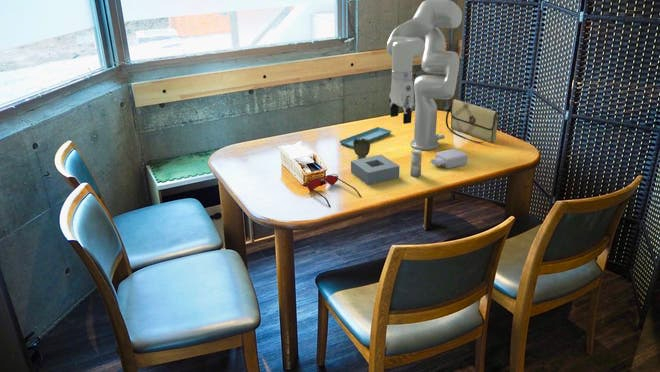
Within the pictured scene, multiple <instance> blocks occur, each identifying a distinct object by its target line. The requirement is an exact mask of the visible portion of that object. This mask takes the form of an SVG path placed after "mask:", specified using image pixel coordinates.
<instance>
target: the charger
mask: <svg viewBox="0 0 660 372" xmlns="http://www.w3.org/2000/svg"><path fill="white" fill-rule="evenodd" d="M429 164H432V165H434V166H436V167H438V166H441V167H443V168H446V169H452V168H453V169H454V168H456V167H461V166H465V165H468V154H467V153H466V152H463V151H461V150H459V149H457V148H450V149H446V150H443V151H437V152H436V153H435V158H432V159H430V161H429Z"/></svg>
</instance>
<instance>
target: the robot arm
mask: <svg viewBox="0 0 660 372" xmlns="http://www.w3.org/2000/svg"><path fill="white" fill-rule="evenodd" d="M462 19H463V12H462V9H461V8H460V6H459V5H458V4H456V2H454V1H452V0H424V1H422V2H421V3H420V5H419V6H418V8H417V10H416V12H415V13H414V16H413V17H412V19H409V20H407V21H405V22H403V23H402V24H400V25H398V26H397V27H395V28H394V29H393V30H392V32H391V34H390V36H389V37H388V40H387V43H386V52H387V54H388V55H389V56H391V84H390V92H389V93H388V96H389V97H388V98H389V99H388V101H389V106H390V112H389V113H390V115H389V116H390V117H391V118H394V117H398V116H399V107H400V108H402V109H403V113H402V115H403V117H402V119H403V121H402V124H404V125H405V124H406V125H407V124H411V123H412V113H413V111H414V131H413V132H414V133H413V134H414V135H413V139H412V140H411V141H410V144H409V145H410V147H411V148H414V149H415V150H421V151H429V150H431V151H432V150H435V149H437V148H438V147H439V146H440V144H439V140H444V139H445V134H439V133H437V122H438V120H437V118H438V106H437V103H436V102H435V99H436V100H446V101H447V100H451V99H452V98H453V97H454V96H455V92H456V88H457V81H458V75H459V70H460V56H459V54H458V53H457V52H456V51H452V50H449V51H448V50H445V45H446V37H445V35H444V34H443V32H442V31H441V30H440V28H442V29H443V28H445V29H457V28H458V27H459V26H460V25H461V23H462ZM422 37H424V38H425V39H422ZM424 40H425V41H424ZM419 58H421V65H420V66H421V70H422V71H423V72H425V73H429V74H427V75H426V74H423V75H422V74H421V75H419V76H417V77H416V78H415V80H414V82H413V64H414V62H413V60H414V59H419ZM430 73H431V74H441V75H443V74H444V75H445V76H440V75H431V74H430Z"/></svg>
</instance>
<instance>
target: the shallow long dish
mask: <svg viewBox="0 0 660 372" xmlns="http://www.w3.org/2000/svg"><path fill="white" fill-rule="evenodd" d="M391 133H392V130H391V129H387V128H384V127H380V126H375V128H371V129H369V130H366V131H363V132H360V133H358V134H355V135H352V136H349V137H346V138H343V139H341V140H339V141H338V142H339V143H340V145H342V146H344V147H347V148H351V149H354V145H353V142H354V140H355V139H358V140H359V138H360V140H361V139H362V138H363V139H364V138H365V140H367V139H368V140H369V139H370V141H371V142H370V143H372V142H374V141H377V140H379V139H382V138H385V137H387V136H389V135H390V134H391Z"/></svg>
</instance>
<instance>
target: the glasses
mask: <svg viewBox="0 0 660 372" xmlns="http://www.w3.org/2000/svg"><path fill="white" fill-rule="evenodd" d="M322 178H324V179H323V181H325V184H326V185H327V184H329V186H333V185H335V184H336V183H337V182H338V181H340V182H342V183H344V184H345V185H347V186H348V187H350V188H352V189H353V190H355V192H356V193H357V194H358V196H359V197H360V198H362V195H361V193H360V192H359V191H358V190H357V188H355V187H354V186H352V185H350V184H349V183H347V182H345V181H344V180H342V179H340V178H339V176H338V175H337V174H335V173H334V174H332V173H331V174H327V175H326V176H322V177H317V178H314V179H312V180H309V181H308V184H306V188H307V190H308V191H310V192H315V193H316V194H317V195H319V196H321V197H322V198H323V199H324V200H325V201H326V203H327V206H328V207H329V208H331V207H332V206H331V204H330V201H329V200H328V198H327V197H325V196H324V195H322V194H321V193H320V192H318V191H316V189H317V188H318V187H319V186H320V187H322V186H323V183H322Z"/></svg>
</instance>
